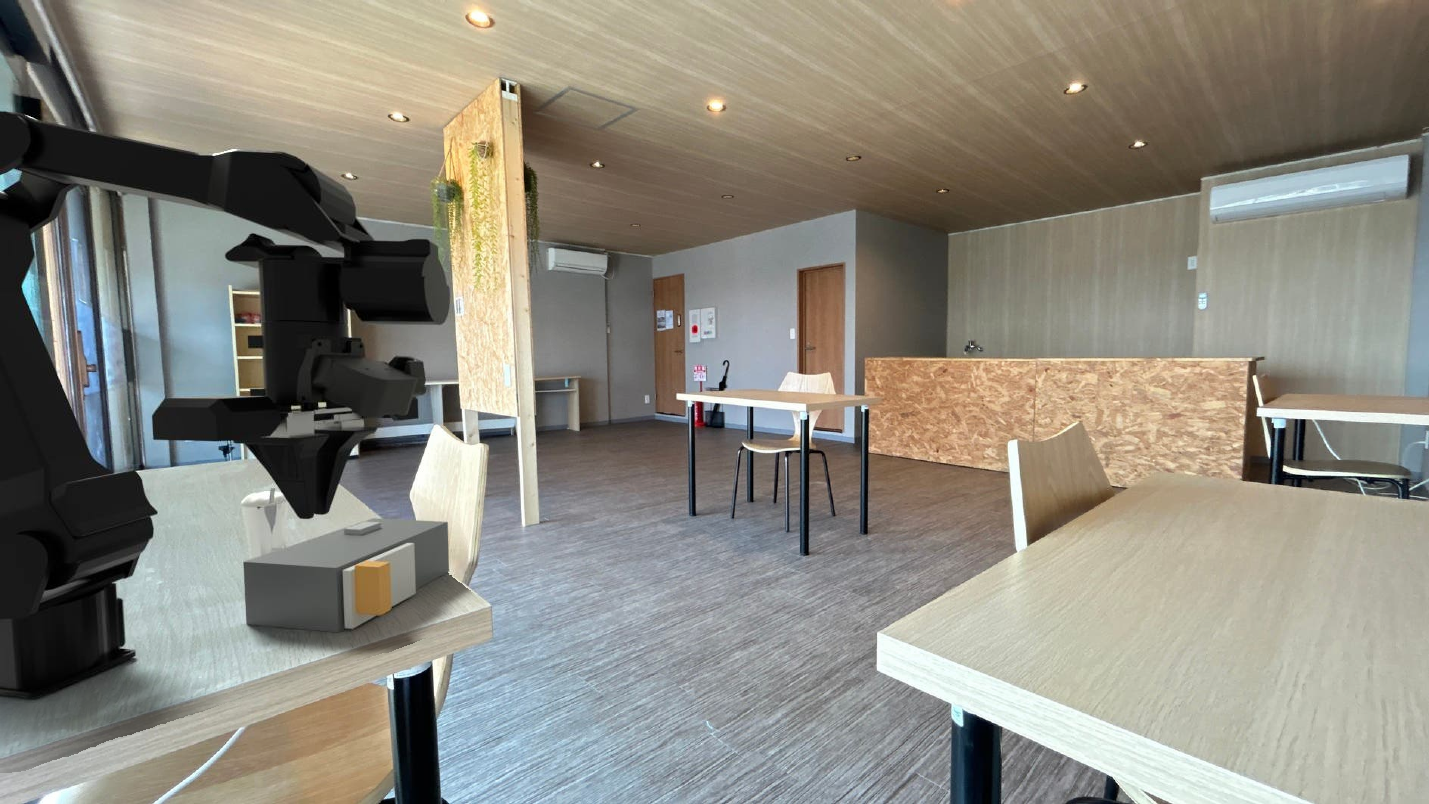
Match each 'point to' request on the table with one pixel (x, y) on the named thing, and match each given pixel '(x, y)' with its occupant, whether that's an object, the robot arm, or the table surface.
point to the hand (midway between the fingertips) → (313, 516)
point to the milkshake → (265, 522)
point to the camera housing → (334, 571)
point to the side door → (378, 584)
